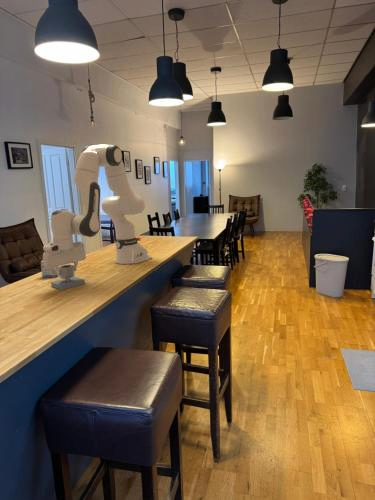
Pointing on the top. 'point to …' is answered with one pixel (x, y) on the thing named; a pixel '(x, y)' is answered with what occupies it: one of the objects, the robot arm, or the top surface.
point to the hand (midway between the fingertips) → (66, 272)
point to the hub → (66, 271)
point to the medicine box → (48, 271)
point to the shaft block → (67, 283)
